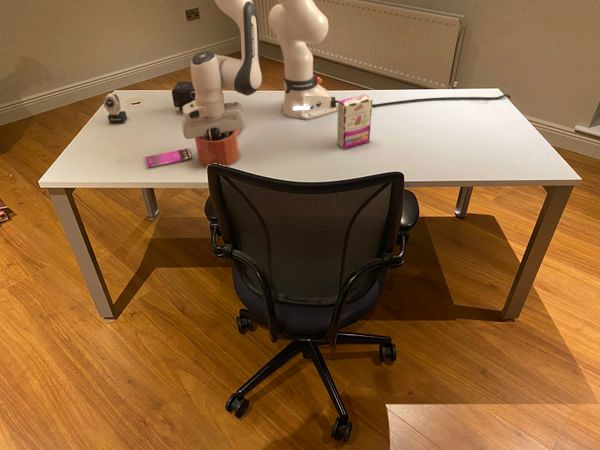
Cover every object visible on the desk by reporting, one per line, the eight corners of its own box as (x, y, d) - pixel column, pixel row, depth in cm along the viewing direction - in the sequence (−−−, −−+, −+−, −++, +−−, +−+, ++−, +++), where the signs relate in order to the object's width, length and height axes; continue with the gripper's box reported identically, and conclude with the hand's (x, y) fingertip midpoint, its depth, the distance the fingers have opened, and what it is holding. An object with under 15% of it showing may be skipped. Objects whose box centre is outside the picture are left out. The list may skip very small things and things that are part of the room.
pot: (233, 144, 158) (230, 120, 152) (243, 162, 148) (240, 137, 142) (195, 151, 154) (191, 127, 148) (203, 170, 145) (198, 145, 139)
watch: (108, 125, 171) (99, 98, 164) (115, 116, 178) (107, 90, 171) (122, 125, 171) (114, 98, 164) (129, 116, 177) (121, 90, 170)
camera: (175, 118, 178) (211, 114, 176) (167, 91, 171) (204, 87, 169) (182, 107, 186) (216, 103, 184) (174, 81, 179) (209, 77, 177)
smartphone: (192, 159, 150) (192, 157, 149) (148, 168, 146) (147, 166, 145) (189, 149, 155) (188, 147, 155) (146, 158, 151) (145, 155, 151)
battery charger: (224, 160, 148) (217, 129, 141) (213, 161, 148) (206, 131, 141) (226, 149, 153) (220, 120, 146) (216, 150, 154) (208, 121, 146)
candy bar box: (361, 136, 161) (365, 93, 151) (369, 142, 158) (373, 98, 147) (335, 143, 157) (337, 100, 147) (343, 149, 154) (345, 105, 143)
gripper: (239, 97, 145) (243, 135, 153) (177, 107, 139) (185, 145, 148) (244, 104, 140) (248, 143, 149) (180, 115, 135) (188, 154, 143)
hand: (216, 144), depth 148 cm, fingers closed on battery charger, 4 cm apart
